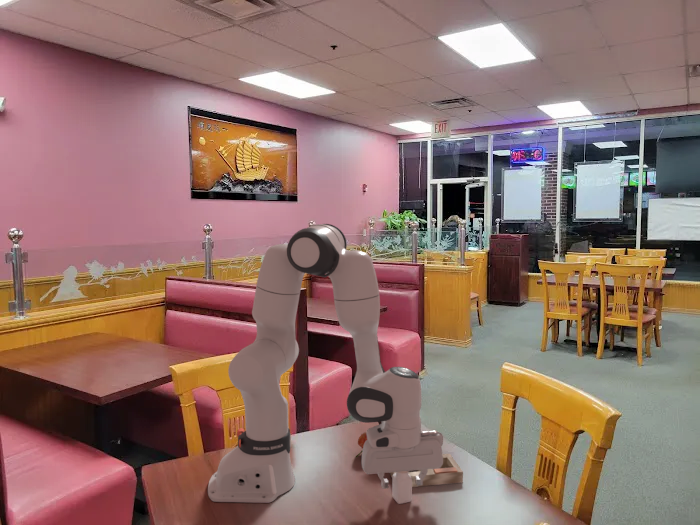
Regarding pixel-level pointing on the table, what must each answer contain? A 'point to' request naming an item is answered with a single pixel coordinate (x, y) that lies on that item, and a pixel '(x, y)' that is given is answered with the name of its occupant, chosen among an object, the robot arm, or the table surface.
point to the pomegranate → (362, 441)
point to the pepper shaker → (402, 487)
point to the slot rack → (440, 473)
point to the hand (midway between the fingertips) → (401, 485)
